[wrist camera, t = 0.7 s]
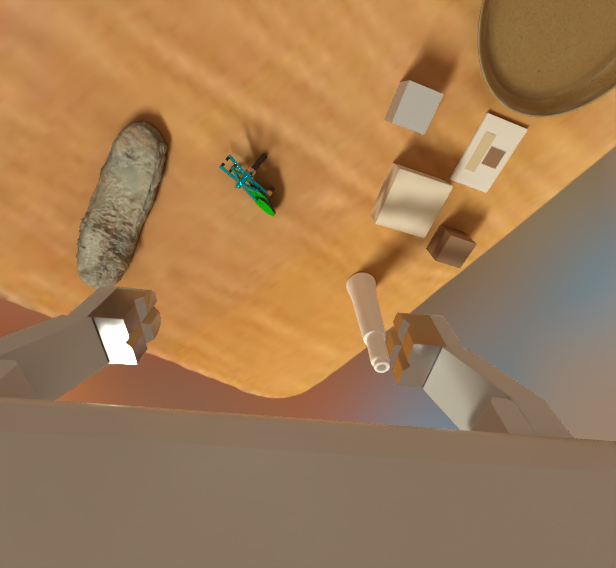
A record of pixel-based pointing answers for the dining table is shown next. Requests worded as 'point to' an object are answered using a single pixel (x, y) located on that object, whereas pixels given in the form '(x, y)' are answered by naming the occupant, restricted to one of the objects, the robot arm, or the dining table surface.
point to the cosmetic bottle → (369, 318)
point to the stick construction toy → (254, 192)
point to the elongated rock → (120, 204)
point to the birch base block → (409, 200)
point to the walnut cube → (450, 246)
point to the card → (487, 152)
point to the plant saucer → (548, 53)
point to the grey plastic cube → (413, 106)
